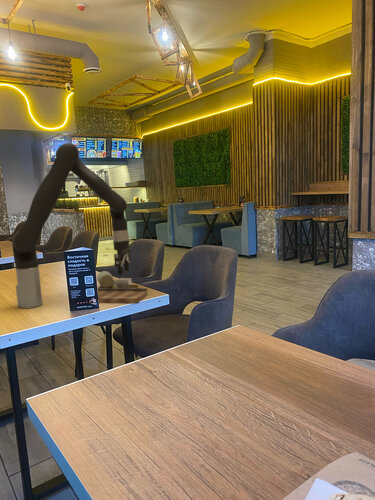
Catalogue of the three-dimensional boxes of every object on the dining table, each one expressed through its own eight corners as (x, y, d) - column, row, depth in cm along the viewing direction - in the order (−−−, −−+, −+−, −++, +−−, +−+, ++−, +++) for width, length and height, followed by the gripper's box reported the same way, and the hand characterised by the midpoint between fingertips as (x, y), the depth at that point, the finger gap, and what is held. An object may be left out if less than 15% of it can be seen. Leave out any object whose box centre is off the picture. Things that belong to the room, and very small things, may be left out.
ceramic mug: (100, 289, 194) (99, 274, 193) (97, 286, 202) (96, 271, 201) (120, 286, 198) (120, 272, 197) (117, 283, 205) (116, 269, 204)
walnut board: (85, 302, 170) (85, 295, 170) (99, 294, 184) (99, 287, 183) (137, 303, 165) (136, 296, 164) (147, 294, 178) (147, 288, 178)
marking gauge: (137, 292, 185) (137, 279, 184) (117, 292, 187) (116, 279, 186) (140, 290, 188) (139, 278, 188) (120, 289, 191) (119, 278, 190)
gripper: (119, 238, 192) (122, 269, 195) (107, 241, 179) (110, 276, 181) (133, 237, 191) (136, 269, 193) (122, 241, 177) (125, 275, 179)
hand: (123, 272), depth 187 cm, fingers open, 8 cm apart
